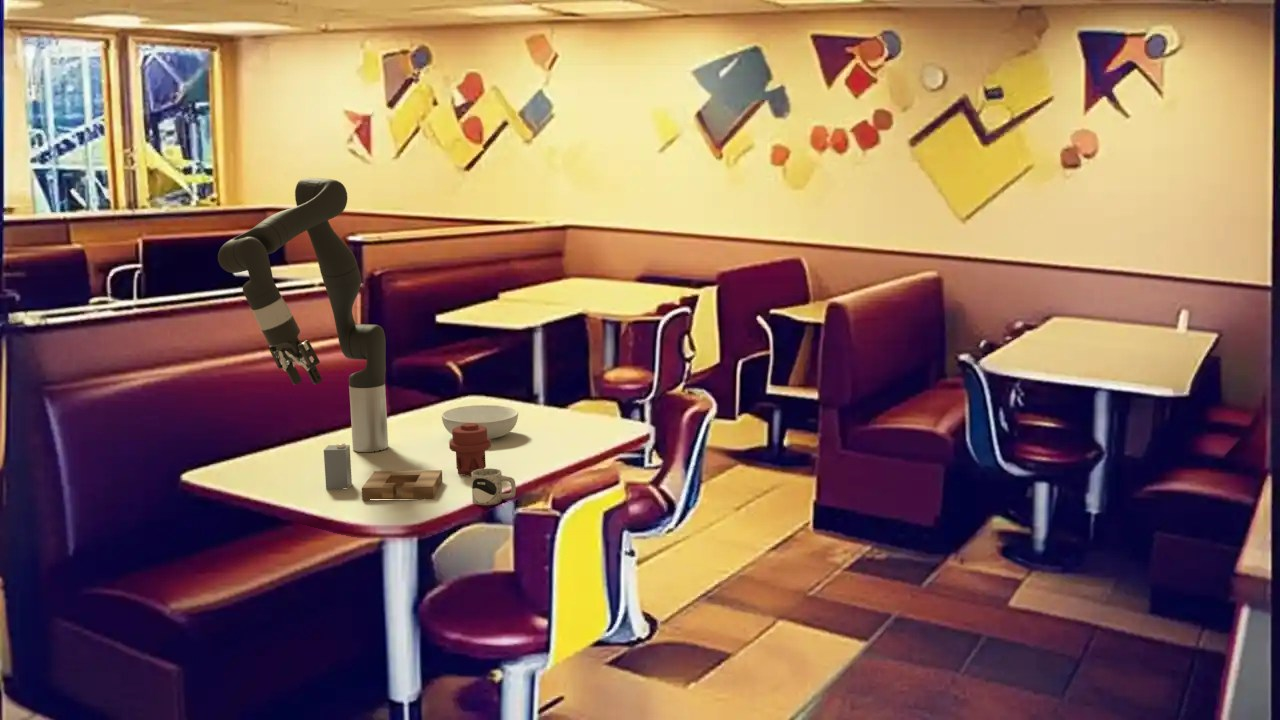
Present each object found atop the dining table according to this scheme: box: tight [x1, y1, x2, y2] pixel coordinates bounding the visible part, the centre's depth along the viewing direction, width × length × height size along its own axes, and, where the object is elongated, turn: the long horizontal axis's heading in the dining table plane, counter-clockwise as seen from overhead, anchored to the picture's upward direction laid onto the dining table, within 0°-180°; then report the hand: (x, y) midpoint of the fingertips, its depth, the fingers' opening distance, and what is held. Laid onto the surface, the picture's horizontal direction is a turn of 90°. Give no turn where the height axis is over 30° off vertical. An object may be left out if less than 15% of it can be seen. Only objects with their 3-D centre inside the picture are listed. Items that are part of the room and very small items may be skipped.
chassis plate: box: [361, 469, 443, 501], centre depth 271 cm, size 14×16×3 cm
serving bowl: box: [441, 404, 519, 440], centre depth 322 cm, size 21×21×7 cm
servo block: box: [323, 442, 353, 490], centre depth 275 cm, size 4×5×10 cm
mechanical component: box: [448, 423, 492, 478], centre depth 284 cm, size 12×10×10 cm
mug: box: [471, 467, 517, 506], centre depth 262 cm, size 10×7×7 cm
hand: (308, 382), depth 270 cm, fingers open, 8 cm apart
